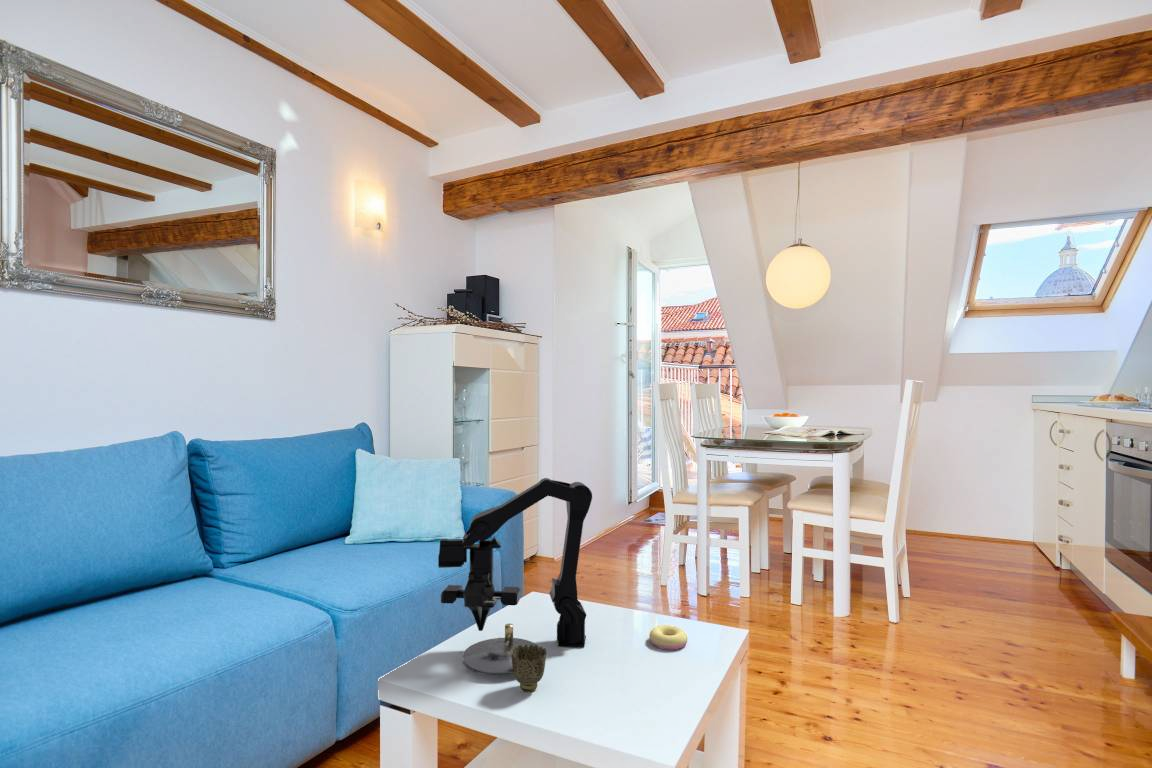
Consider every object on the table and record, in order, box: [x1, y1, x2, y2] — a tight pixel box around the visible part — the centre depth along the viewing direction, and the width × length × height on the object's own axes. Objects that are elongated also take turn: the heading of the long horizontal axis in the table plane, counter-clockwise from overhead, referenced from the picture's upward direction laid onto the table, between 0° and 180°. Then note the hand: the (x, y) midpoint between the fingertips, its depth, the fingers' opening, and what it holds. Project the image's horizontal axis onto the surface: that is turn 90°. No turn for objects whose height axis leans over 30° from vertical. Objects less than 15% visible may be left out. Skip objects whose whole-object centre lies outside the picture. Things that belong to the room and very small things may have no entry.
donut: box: [648, 624, 689, 650], centre depth 150 cm, size 10×5×9 cm
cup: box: [511, 644, 547, 693], centre depth 126 cm, size 8×7×8 cm
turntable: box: [462, 623, 541, 676], centre depth 138 cm, size 18×18×4 cm
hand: (481, 630), depth 147 cm, fingers closed
